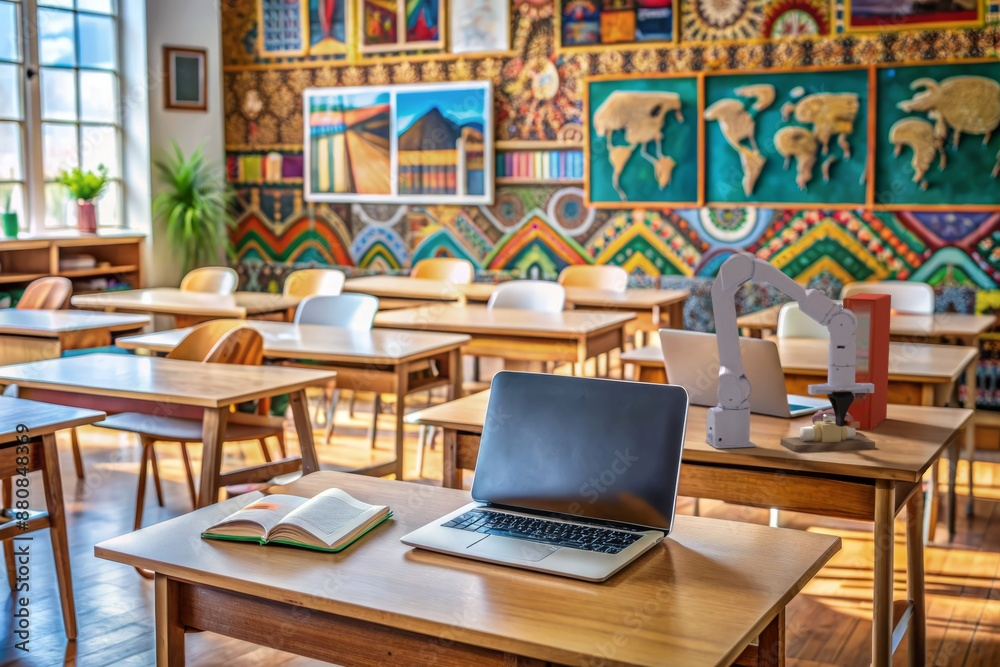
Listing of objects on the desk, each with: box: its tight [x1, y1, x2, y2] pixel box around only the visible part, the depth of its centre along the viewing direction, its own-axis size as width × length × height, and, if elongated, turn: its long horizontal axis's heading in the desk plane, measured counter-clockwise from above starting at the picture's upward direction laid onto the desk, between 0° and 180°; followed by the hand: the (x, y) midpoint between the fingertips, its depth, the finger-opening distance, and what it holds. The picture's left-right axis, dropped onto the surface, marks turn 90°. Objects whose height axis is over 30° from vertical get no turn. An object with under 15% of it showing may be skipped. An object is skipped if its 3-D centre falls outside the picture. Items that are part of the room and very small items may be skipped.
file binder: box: [839, 292, 892, 431], centre depth 271 cm, size 8×17×32 cm, turn 149°
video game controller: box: [811, 408, 853, 425], centre depth 261 cm, size 10×5×7 cm, turn 62°
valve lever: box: [823, 414, 860, 428], centre depth 241 cm, size 11×2×2 cm, turn 19°
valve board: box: [779, 434, 876, 453], centre depth 246 cm, size 19×8×2 cm, turn 98°
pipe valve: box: [799, 421, 857, 442], centre depth 246 cm, size 12×4×4 cm, turn 98°
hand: (840, 425), depth 239 cm, fingers closed, pressing on valve lever
